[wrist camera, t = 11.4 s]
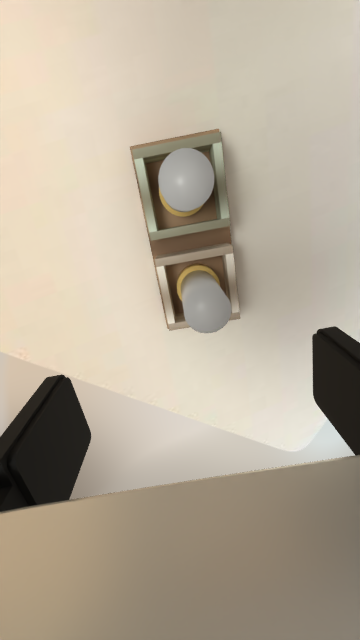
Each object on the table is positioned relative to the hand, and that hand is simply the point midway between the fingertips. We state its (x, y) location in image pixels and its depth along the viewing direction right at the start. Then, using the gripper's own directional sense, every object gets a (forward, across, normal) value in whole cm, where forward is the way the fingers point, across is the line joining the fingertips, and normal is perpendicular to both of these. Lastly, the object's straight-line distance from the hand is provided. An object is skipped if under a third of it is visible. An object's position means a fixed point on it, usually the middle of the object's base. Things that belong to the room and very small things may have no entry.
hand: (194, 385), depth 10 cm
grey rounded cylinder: (+23, -2, +2) cm, 23 cm away
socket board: (+24, -2, -3) cm, 25 cm away
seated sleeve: (+23, -2, -8) cm, 24 cm away
